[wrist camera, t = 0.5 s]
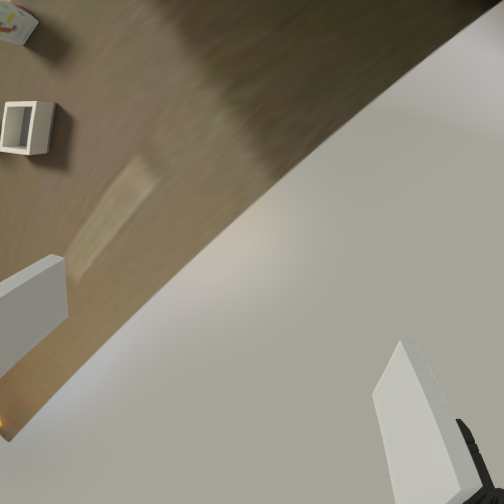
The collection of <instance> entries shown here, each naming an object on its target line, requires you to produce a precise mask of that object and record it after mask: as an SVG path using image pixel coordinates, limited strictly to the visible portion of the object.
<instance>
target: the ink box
mask: <svg viewBox="0 0 504 504" xmlns="http://www.w3.org/2000/svg"><path fill="white" fill-rule="evenodd" d="M38 23H39V21H37V20H36V19H35V18H34V17H33V16H32V15H30V14H29V13H28V12H27V11H26V10H25V9H24V8H22V7H21V6H18V5H15V4H12V3H9V2H6V1H3V0H0V41H5V42H10V43H14V44H19V45H24V44H25V42H26V41H27V39H28V38H29V36H30V35H31V33H32V32H33V30H34V29H35V27H36V26H37V25H38Z"/></svg>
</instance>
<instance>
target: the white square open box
mask: <svg viewBox="0 0 504 504" xmlns="http://www.w3.org/2000/svg"><path fill="white" fill-rule="evenodd" d="M56 105H57V103H51V102H39V101H24V102H6V104H5V110H4V116H3V123H2V131H1V139H0V151H1V152H9V153H17V154H24V155H35V154H44V153H49V151H50V143H51V136H52V129H53V122H54V116H55V110H56Z"/></svg>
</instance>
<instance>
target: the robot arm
mask: <svg viewBox="0 0 504 504" xmlns="http://www.w3.org/2000/svg"><path fill="white" fill-rule="evenodd" d="M67 317H68V308H67V295H66V278H65V258H62V257H59V256H56V255H53V254H50V255H48V256H46V257H45V258H43V259H41V260H39V261H37V262H35V263H34V264H32V265H30V266H28V267H27V268H25V269H23V270H21V271H19V272H18V273H16V274H14V275H13V276H11V277H9V278H7V279H6V280H4V281H2V282H1V283H0V378H1V377H2V376H3V375H4V374H5V373H6V372H8V371H9V370H10V369H11V368H12V367H13V366H14V365H15V364H16V363H17V362H18V361H19V360H20V359H21V358H22V357H24V356H25V355H26V354H27V353H28V352H29V351H30V350H31V349H32V348H33V347H35V346H36V345H37V344H38V343H39V342H40V341H41V340H42V339H43V338H45V337H46V336H47V335H48V334H49V333H50V332H51V331H52V330H54V329H55V328H56V327H57V326H58V325H59V324H61V323H62V322H63V321H64V320H65V319H66V318H67ZM372 396H373V400H374V405H375V408H376V413H377V417H378V421H379V425H380V430H381V434H382V439H383V442H384V448H385V452H386V457H387V462H388V467H389V472H390V477H391V482H392V487H393V493H394V498H395V504H504V489H501V488H495V487H494V485H493V483H492V480H491V478H490V475H489V473H488V470H487V468H486V465H485V463H484V461H483V458H482V456H481V454H480V453H479V449H478V447H477V444H475V440H474V438H473V436H472V433H471V431H470V430H469V428H468V427H467V426H466V425H465V424H464V423H463V421H462V420H461V419H455V418H454V416H453V414H452V411H451V409H450V407H449V405H448V403H447V401H446V399H445V396H444V394H443V392H442V390H441V388H440V387H439V384H438V383H437V380H436V378H435V377H434V374H433V373H432V371H431V368H430V367H429V365H428V363H427V361H426V359H425V357H424V355H423V353H422V351H421V349H420V348H419V346H418V344H417V343H416V342H410V341H404V340H400V341H399V343H398V345H397V347H396V349H395V351H394V353H393V355H392V357H391V359H390V361H389V363H388V365H387V367H386V369H385V371H384V373H383V375H382V377H381V379H380V381H379V382H378V384H377V386H376V388H375V390H374V392H373V393H372Z"/></svg>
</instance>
